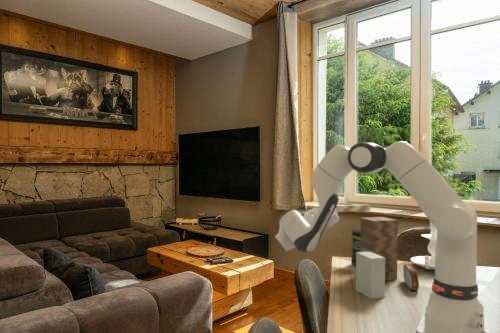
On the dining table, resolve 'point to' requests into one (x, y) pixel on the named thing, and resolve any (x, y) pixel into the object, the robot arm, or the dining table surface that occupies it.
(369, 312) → the dining table surface
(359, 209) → the beech bar
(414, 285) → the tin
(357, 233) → the coffee jar
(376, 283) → the pedestal
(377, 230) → the tall stand
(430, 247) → the candlestick
